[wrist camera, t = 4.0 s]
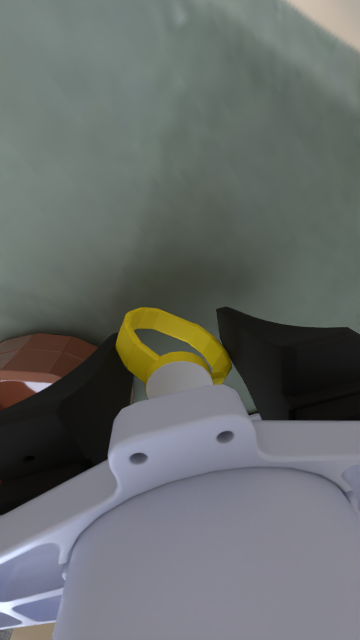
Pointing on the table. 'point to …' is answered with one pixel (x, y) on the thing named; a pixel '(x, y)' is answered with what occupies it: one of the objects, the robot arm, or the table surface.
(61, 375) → the bowl
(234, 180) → the table surface
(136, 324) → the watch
